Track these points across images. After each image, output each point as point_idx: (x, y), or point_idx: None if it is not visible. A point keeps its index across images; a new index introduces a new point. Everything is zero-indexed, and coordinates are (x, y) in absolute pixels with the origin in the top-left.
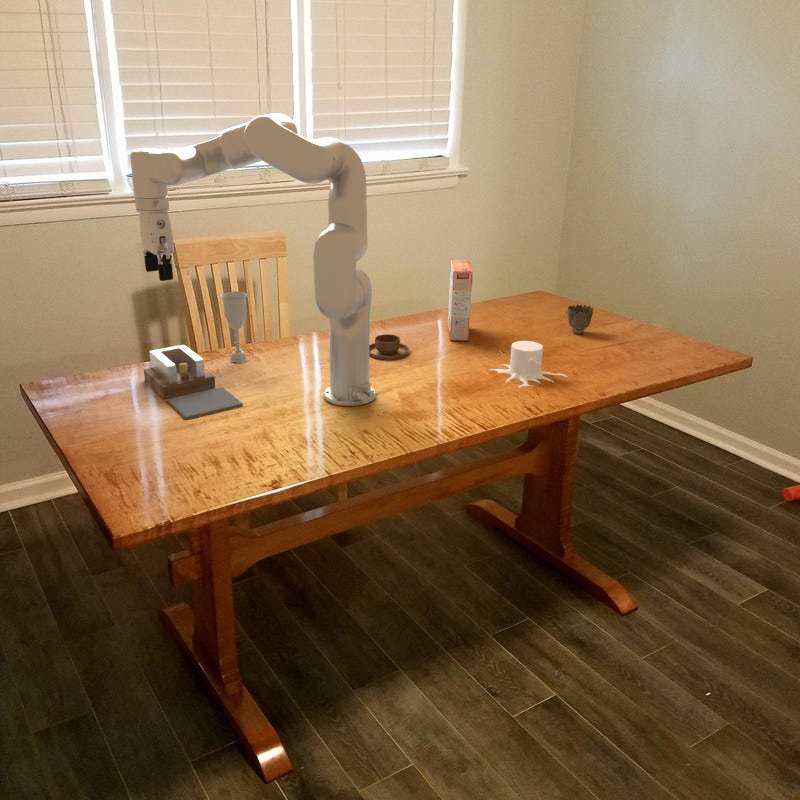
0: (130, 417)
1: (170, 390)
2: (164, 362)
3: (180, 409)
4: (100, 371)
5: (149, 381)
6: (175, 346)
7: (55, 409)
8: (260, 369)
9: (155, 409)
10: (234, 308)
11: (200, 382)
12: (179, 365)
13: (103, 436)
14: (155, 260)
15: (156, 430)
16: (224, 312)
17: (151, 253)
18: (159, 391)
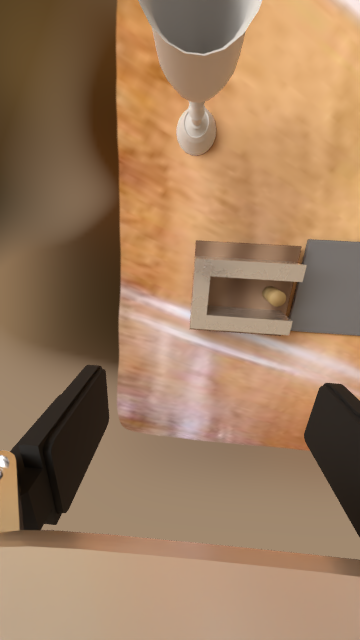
0: (296, 381)
1: None
2: (265, 331)
3: (335, 330)
4: (120, 355)
5: None
6: (196, 278)
7: (213, 428)
8: (276, 116)
9: (297, 350)
10: (241, 42)
11: None
12: (277, 306)
13: None
14: (75, 425)
15: (357, 373)
16: (193, 92)
17: (36, 504)
18: None
